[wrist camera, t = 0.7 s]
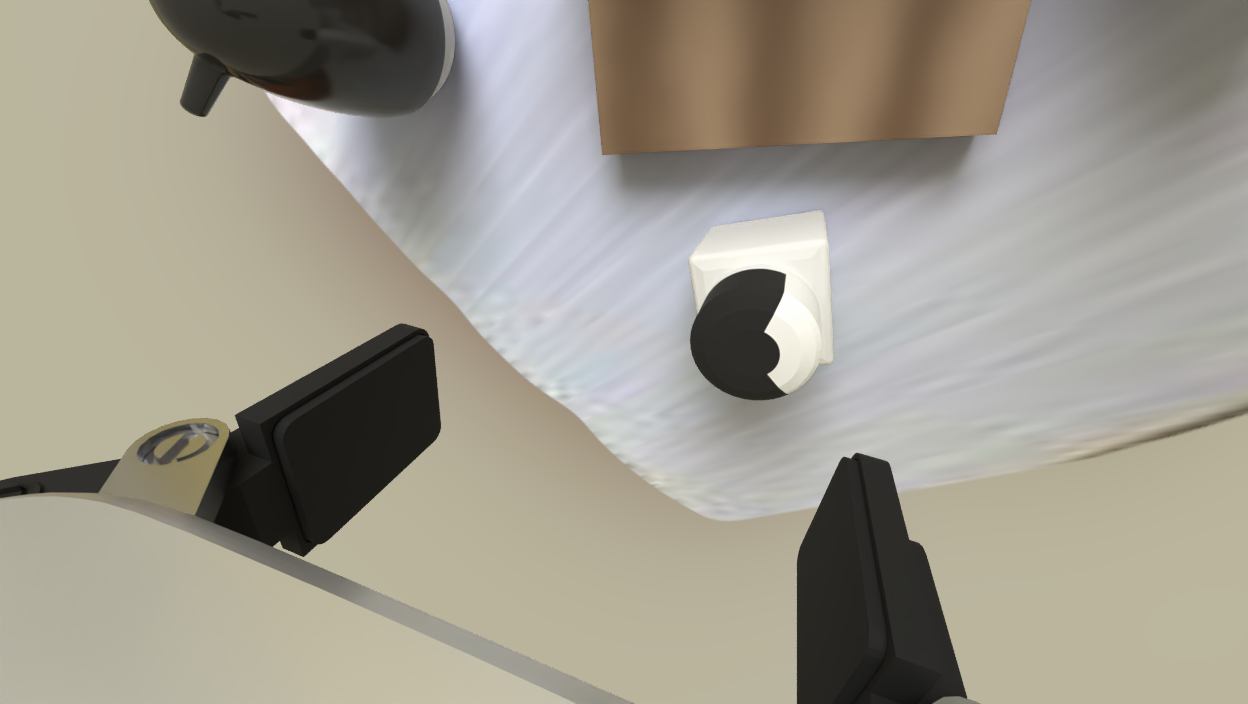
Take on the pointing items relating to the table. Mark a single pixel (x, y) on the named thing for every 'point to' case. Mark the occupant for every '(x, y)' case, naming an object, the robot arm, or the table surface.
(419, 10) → the dark egg-shaped spouted container
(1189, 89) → the table surface
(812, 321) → the medicine bottle
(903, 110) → the brown piece
